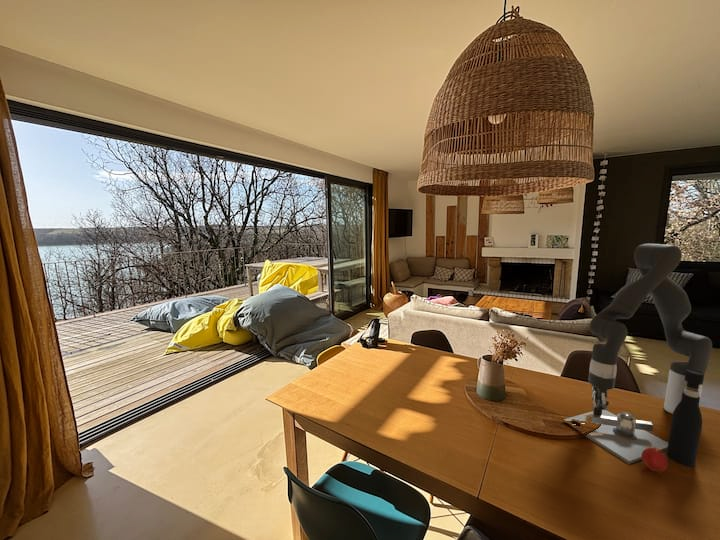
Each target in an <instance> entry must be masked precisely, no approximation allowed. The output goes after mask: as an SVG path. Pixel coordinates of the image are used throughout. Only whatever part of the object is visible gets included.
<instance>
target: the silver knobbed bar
mask: <svg viewBox="0 0 720 540" xmlns="http://www.w3.org/2000/svg"><path fill="white" fill-rule="evenodd" d="M616 416H617V417H610V416H603V415H595V414H586V417H585V420H586V421H587V422H591V423H596V424H603V425H610V426H616V432H617V433H619V434H620V435H622V436H625V437H629V438H633V437H634V433H635V429H639V430H645V431H647V432H648V431H649V432H653V431H654V424H653V423H652V421H648V420H647V421H646V420H640V419H636V417H635V416H634V414H631V413H630V412H627V411H620V412H619V413H617V414H616Z"/></svg>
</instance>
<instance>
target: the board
mask: <svg viewBox="0 0 720 540" xmlns="http://www.w3.org/2000/svg"><path fill="white" fill-rule="evenodd" d="M586 414H593V410H592V411H588V412H585V413H581V414H578V415H574V416H570V417H567V418H563V420H565V421H571V420H572V419H575V420H579V421H586V420H585V417H586ZM602 415H603V416H610V417H617V414H614V413H613V412H611V411H608V410H606V409H605V410H602ZM563 420H562V421H563ZM581 424H585V423H581ZM572 425H576V424H572ZM585 437H586V438H588V439H589V440H591V441H593V442H594V443H595V444H597V445H599V446H600V447H602V448H603V449H604V450H606V451H608V452H609V453H611V454H612V455H614V456H616V457H617V458H619V459H621V460H622V461H623V462H625V463H626V464H629V465H631V464H633V463H636V462H638V461H641V460H642V456H641V455H642V452H643V451H644V450H645V449H647V448H654V447H657V448H658V449H659V450H660V451H661V452H662V453H663V452H665V451H667V448H668V441H665V440H663V439H662V438H660V437H658V436H656V435H654V434H653V433H650V431H649V432H648V431H646V430H639V429H635V433H634V437H633V438H629V437H625V436H622V435H620V434H619V433H617V432H616V426H610V425H603V424H601V426H600V427H599V428H598V429H596V430H594V431H593V432H591V433H589V434H587V436H585Z"/></svg>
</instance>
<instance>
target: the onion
mask: <svg viewBox="0 0 720 540" xmlns="http://www.w3.org/2000/svg"><path fill="white" fill-rule="evenodd" d="M641 456H642V459H641V460H642V462H643V463H644V465H645V466H646V467H647V468H648V469H649V470H650V471H652V472H664V471H665V470H666V469H668V467H669V463H668V457H666V455H665V454H664V453H663V451H662V452H661V451H660V450H659V449H658V448H657V447H654V448H647V449H645V450H644V451H643V452H642V455H641Z"/></svg>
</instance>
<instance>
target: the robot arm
mask: <svg viewBox="0 0 720 540" xmlns="http://www.w3.org/2000/svg"><path fill="white" fill-rule="evenodd" d="M633 256H634V257H633V259H634V262H635V264H636V267H637V269H638V270H639V273H640V274H641V276H642V277H640V278H638V279H636V280H635V281H633V282H631V283H630V284H628V285H626V286H624V287H623V288H621V290H620V291H619V292H618V293H616V295H615V296H614V298H613V299H612V301H611V302H610V304H609V305H608V306H607V307H605V308H604V309H602V310H601V311H600V312H599V313H598V314H596V315H595V316H594V317H593V318H592V319H591V320H590V322H589V327H588V328H589V332H590V333H591V334H593V335H594V336H598V337H601V338H603V339H606V342H596V343H594V344H593V346H592V353H591V354H592V355H591V360H590V362H589V370H588V379H587V380H588V383H589V384H590V385H591V396H592V397H591V400H592V404H593V409H592V411H593V414H595V415H602V410H606V409H607V408H608V406H609V404H610V402H609V400H607V399H608V397H609V392H608V390H613V389H614V388H615V385H616V378H617V371H618V370H617V363H618V356H619V355H618V354H619V352H620V350H621V347H622V345H623V343H624V342H625V340H626V338H627V337H628V328H627V326H626V325H625V324H624V322H623V323H622V322H621V321H619V320H629V319H630V318H632V317H633V316H634V314H635V313H637V310H638V309H639V308H640V306H641V304H642V303H643V302H644V301H645V299H646V298H647V297H648V296H649V295H650V294H651V297H652V300H653V303H654V306H655V308H656V310H657V312H658V315H659V318H660V320H661V323H662V327H663V330H664V336H665V339H666V343H667V346H668V348H669V349H670V350H671V351H673V352H674V353H677V354H680V355H682V356H685V357H688V361H684V360H675V361H672V362H671V363H670V364H669V365H670V366H669V372H668V379H667V385H666V391H665V397H664V398H665V399H664V404H663V409H664V410H665V411H666V412H668V413H669V414H671V415H673V412H674V410H675V408H676V406H677V405H678V404H679V403H680V401H681V399H682V393H683V392H684V389H685V387H687V386H686V385H687V381H685V380H684V379H685V373H686V370H687V369H692V370H697V371H700V372H702V373H704V375H705V374H706V371H707V370H708V366H709V361H710V357H711V355H712V350H713V342H712V340H711V339H710V338H709V337H708V336H704V335H701V334H697V333H694V332H690V331H687V330H685V329H684V328H683V327H684V326H683V323H682V322H684V320H686V318H687V317H688V316H689V315H690V313H691V311H692V305H691V302H690V298H689V296H688V294H687V292H686V290H685V289H683V288H682V286H680V285H679V284H678V283H676V282H675V281H674V280H673V279H671V278H670V277H669V276H670V275H671V273H672V272H673V271H675V270H676V268H677V267H678V266H679V264H680V263H681V260H682V257H683V254H682V250H681V248H680V247H679V246H676V245H675V244H663V243H643V244H640V245H638V246H637V247H636V248H635V249H634V254H633ZM617 320H618V321H617ZM703 384H704V383H703ZM703 384H702V385H699V393H700V394H699V397H700V398H701V396H702V390H703ZM700 401H701V400H700ZM700 401H699V404H700V403H701V402H700Z"/></svg>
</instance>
